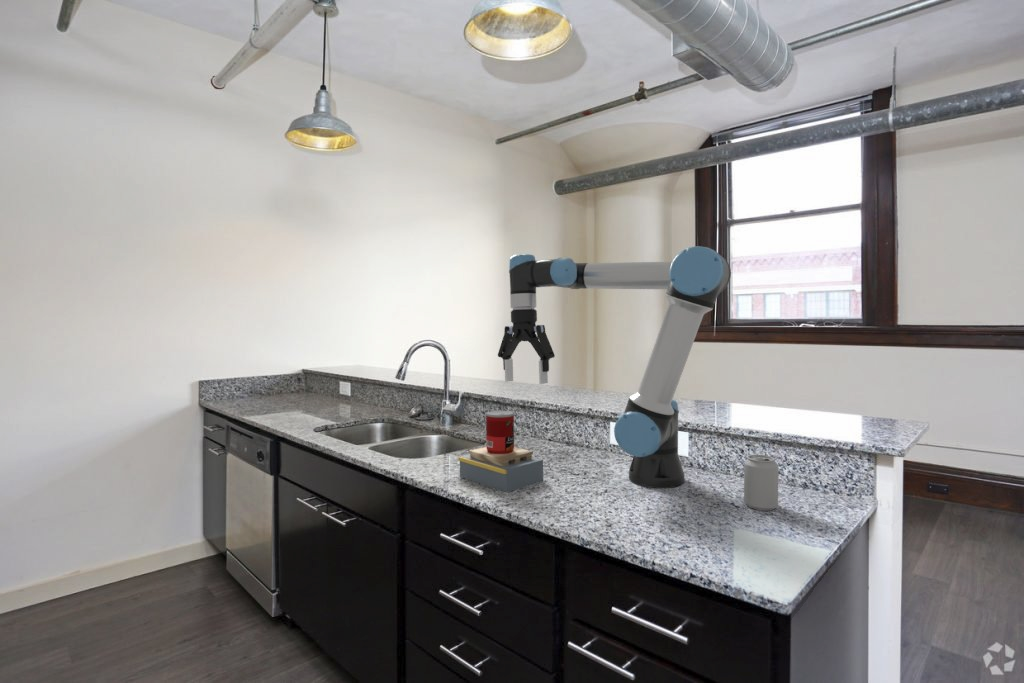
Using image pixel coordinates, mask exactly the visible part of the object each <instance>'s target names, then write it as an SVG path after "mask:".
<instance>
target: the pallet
mask: <svg viewBox="0 0 1024 683" xmlns="http://www.w3.org/2000/svg"><path fill="white" fill-rule="evenodd" d="M468 454H470V457H472V458H475V459H479V460H482V461H486V462H489V463H493V464H496V465H500V466H507V465H508V461H509V462H512V463H518V462H520V459H524V460H529V459H532V457H533V456H532V455H534V451H533V450H532V451H531V450H527V449H524V448H519V447H515V446H514V450H513V452H511V453H507V454H493V453H489V452H488V451H487V446H483V447H479V448H478V447H477V448H474V449H470V450H468Z"/></svg>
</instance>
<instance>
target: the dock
mask: <svg viewBox="0 0 1024 683" xmlns="http://www.w3.org/2000/svg"><path fill="white" fill-rule="evenodd" d="M457 460H458V462H459V477H460V478H462V479H466V480H468V481H472V482H475V483H478V484H481V485H484V486H487V487H490V488H492V489H497V490H499V491H502V492H505V493H508V492H513V491H515V490H519V489H521V488H525V487H528V486H532V485H534V484H537V483H541V482H544V459H540V458H537V457H533V456H532V459H529V460H524V459H520V462H518V463H512V462H509V461H508V465H507V466H500V465H496V464H493V463H489V462H486V461H482V460H479V459H475V458H472V457H470V453H467V454H464V455H459V456H458V457H457Z"/></svg>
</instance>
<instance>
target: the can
mask: <svg viewBox="0 0 1024 683" xmlns="http://www.w3.org/2000/svg"><path fill="white" fill-rule="evenodd" d="M746 458H747V459H746V460H745V461H744V462H743V503H745V504H746V506H747V507H749V508H750V509H752V510H753V509H754V510H756V511H762V512H763V511H764V512H766V511H773V510H775V508H777V507H778V506H779V464H778V463H777V462H776V458H775V457H773V456H770V455H766V454H765V455H764V454H749V455H747V456H746Z"/></svg>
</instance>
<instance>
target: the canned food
mask: <svg viewBox="0 0 1024 683" xmlns="http://www.w3.org/2000/svg"><path fill="white" fill-rule="evenodd" d="M485 426H486V428H485V429H486V430H485V431H486V434H485V436H486V447H487V451H488V452H489V453H493V454H507V453H511V452H513V450H514V447H515V413H514V412H513V411H509V410H492V411H487V412H486V415H485Z"/></svg>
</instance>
